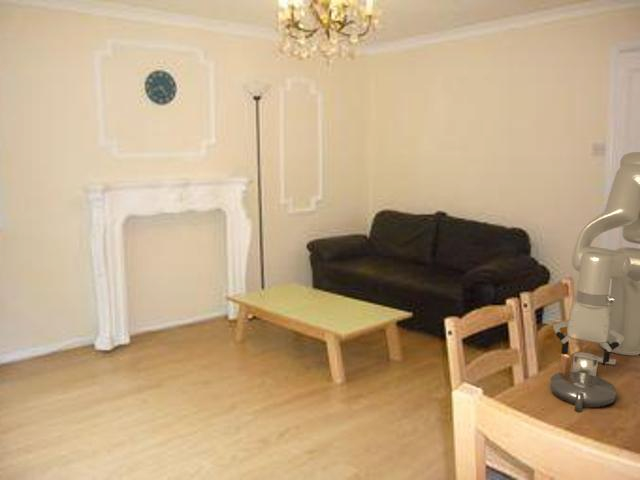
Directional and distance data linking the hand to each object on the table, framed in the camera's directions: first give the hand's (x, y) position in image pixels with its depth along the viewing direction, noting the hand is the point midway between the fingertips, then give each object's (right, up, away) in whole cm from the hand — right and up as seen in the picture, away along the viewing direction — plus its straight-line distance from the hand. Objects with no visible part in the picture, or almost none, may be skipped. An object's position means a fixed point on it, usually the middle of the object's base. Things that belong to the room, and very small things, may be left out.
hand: (584, 360), depth 157 cm
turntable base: (-5, -7, -10) cm, 13 cm away
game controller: (+10, -4, +10) cm, 15 cm away
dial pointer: (-10, -8, -18) cm, 22 cm away
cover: (0, -5, +2) cm, 5 cm away
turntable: (-5, -6, -10) cm, 13 cm away
